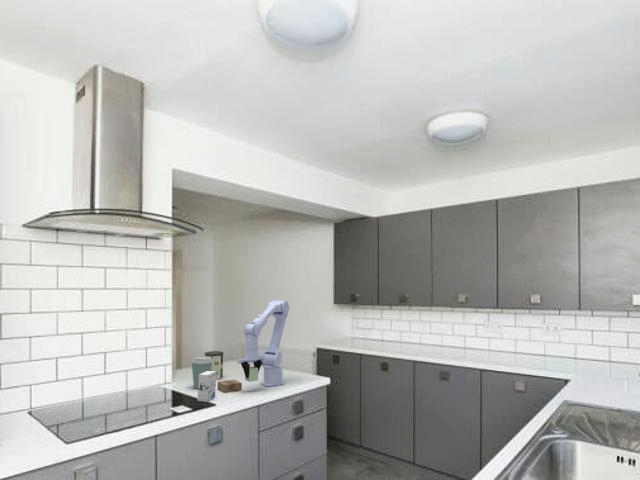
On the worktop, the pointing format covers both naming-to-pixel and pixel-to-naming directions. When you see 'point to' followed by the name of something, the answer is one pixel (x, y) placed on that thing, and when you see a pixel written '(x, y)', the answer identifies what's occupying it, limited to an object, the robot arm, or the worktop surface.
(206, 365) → the disposable coffee cup
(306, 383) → the worktop surface
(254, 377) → the green block
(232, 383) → the walnut base
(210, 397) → the ink box
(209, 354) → the coffee can
